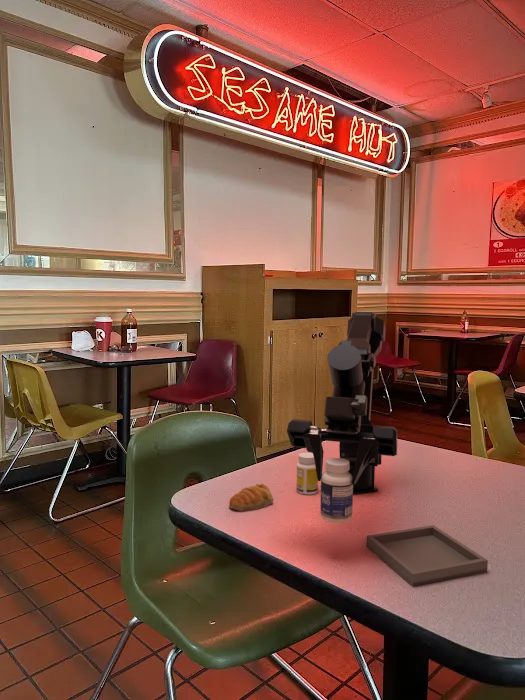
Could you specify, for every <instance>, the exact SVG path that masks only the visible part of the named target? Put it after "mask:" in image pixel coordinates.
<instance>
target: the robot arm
mask: <svg viewBox="0 0 525 700" xmlns="http://www.w3.org/2000/svg"><path fill="white" fill-rule="evenodd" d="M346 330H347V331H346V336H347V338H346V340H341V341H339V343H338V344H337V345H336V346H334V347H333V348H331V350H330V351H329V353H327V364H328V370H329V375H330V380H331V383H332V384H333V388H332V395H331V396H326V397H325V404H324V425H325V426H326V428H321V427H320V426H314V425H313V422H312V420H310V419H309V420H308V419H297V418H296V419H295V418H293V419H291V420H290V421H289V422H288V424H287V429H286V433H287V436H288V439H289V442H290V445H291V446H292V447H294V448H298V449H299V448H302V449H306V451H307V453H313V456H314V460H315V467H316V473H317V479H318V482H321V476H322V474H323V467H324V453H325V452H324V448H323V444H322V443H323V441H327V442H335V443H336V442H337V443H338V442H339V444H338V446H339V449H338V451H339V458H343V459H346V460H348V461H349V462H350V469H349V471H348V472H349V473H350V474H351V475H352V485H353V495H356V494H364V493H373V492H378V491H379V488H378V487H376V486H375V478H376V477H375V475H376V474H375V473H376V467H378V466H380V465H382V457H383V456H387V457H388V456H389V457H395V456H397V455H398V430H397V429H396V427H395V426H387V425H375V424H374V425H373V424H372V422H371V413H372V412H371V411H372V398H373V382H374V381H373V380H374V370H375V369H374V368H375V367H376V366H377V365H376V364H377V359H376V358H377V357H378V355H379V354H380V353H381V351H382V348H383V347H382V345H383V342H385V341H386V324H385V321H384V320H383V319H381V318H379V317H378V316H377V315H376V313H375V312H372V311H355V312H352V313H351V317H350V318H349V319H348V320H347V329H346Z"/></svg>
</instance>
